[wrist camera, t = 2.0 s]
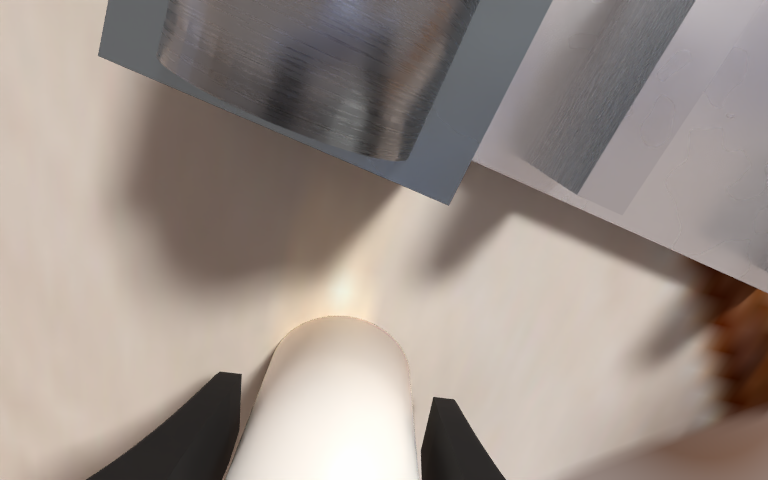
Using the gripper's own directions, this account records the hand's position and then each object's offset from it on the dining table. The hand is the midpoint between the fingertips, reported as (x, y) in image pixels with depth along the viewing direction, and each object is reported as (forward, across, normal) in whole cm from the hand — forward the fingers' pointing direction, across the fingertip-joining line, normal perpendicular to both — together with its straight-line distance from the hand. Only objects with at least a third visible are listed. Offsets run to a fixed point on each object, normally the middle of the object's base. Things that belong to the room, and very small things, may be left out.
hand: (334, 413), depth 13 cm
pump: (+2, 0, 0) cm, 2 cm away
